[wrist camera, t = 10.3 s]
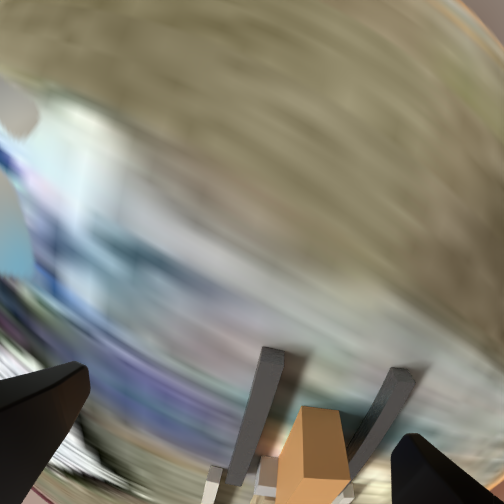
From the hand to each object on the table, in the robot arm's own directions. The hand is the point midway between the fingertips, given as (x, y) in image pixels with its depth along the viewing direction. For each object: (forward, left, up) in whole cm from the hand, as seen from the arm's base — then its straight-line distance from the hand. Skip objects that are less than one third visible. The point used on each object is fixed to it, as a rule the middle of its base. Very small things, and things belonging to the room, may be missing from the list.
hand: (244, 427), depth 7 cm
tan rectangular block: (-6, +12, -12) cm, 18 cm away
